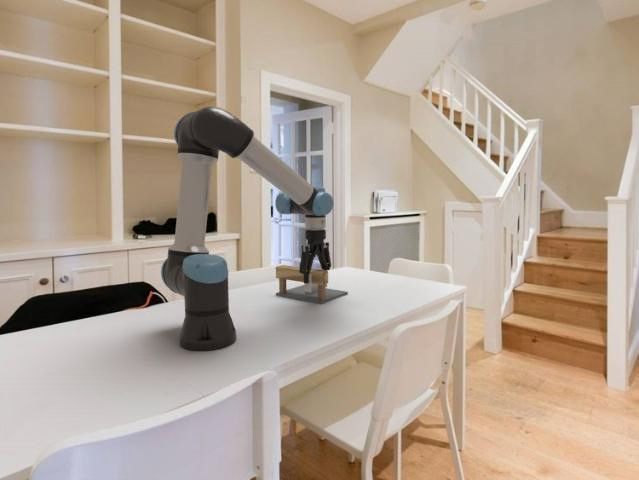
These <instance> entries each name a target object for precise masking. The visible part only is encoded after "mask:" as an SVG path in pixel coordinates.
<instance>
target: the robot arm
mask: <svg viewBox="0 0 639 480" xmlns="http://www.w3.org/2000/svg"><path fill="white" fill-rule="evenodd" d="M173 135H174V136H173V137H174V141H175V143H176V144H177V153H176V154H177V157H178V158H179V159H180V160H181V171H180V179H179V180H180V181H179V182H180V183H179V190H178V191H179V192H178V201H177V212H176V222H175V223H176V224H175V234H174V242H173V243H172V244H171V245H170V246H169V247H168V248H167V250H168V251H167V258H166V259H165V260H164V261H163V263H162V264H161V268H160V275H161V280H162V282H163V284H164V285H165V287H167V288H168V289H169V290H170V291H172V292H173V293H175V294H178V295H180V296H183V298H184V319H183V322H182V326H181V330H180V333H179V346H180V347H181V348H183V349H185V350H189V351H211V350H212V351H213V350H217V349H222V348H225V347H228V346H230V345H232V344H233V343H235V342H236V341H237V331H236V330H237V329H236V328H235V325H234V321H233V319H232V317H231V314H230V305H229V303H230V302H229V301H230V297H229V269H228V262H227V260H226V258H224V257H223V256H220V255H216V254H210V250H209V249H208V247H207V246H206V245H205V244H206V243H205V242H206V234H207V233H206V231H207V223H208V222H207V221H208V214H209V213H208V211H209V204H210V203H209V202H210V195H211V194H210V192H211V181H212V170H213V165H215V164H216V163H217V162H219V155H220V152H222V153H224V154H227V156H229V157H230V158H232V159H239V160H240V161H241V162H242V163H244V164H246V165H247V166H248V167H249V168H250V169H251V170H253V171H255V173H257V174H258V175H260V176H261V177H262V179H263V178H264V179H265V180H266V181H267V182H268V183H270V184H271V185H273V186H274V187H275V189H278V190H279V191H280V192H279V193H278V194H277V196H276V197H275V201H274V202H275V203H274V204H275V209H276V211H277V212H278V213H279V214H281V215H304V228H305V232H304V234H305V237H304V239H305V240H306V241H307V244H306V245H301V257H300V264H299V267H300V270H299V272H300V273H301V274H303V275H304V282H303V285H304V291H305V292H312V290H311V274H310V271H311V269H312V267H313V263H314V260H315V258H316V256H317V258H318V261H319V262H318V263H319V265H320V267H321V270H325V271H329V270H331V267H332V261H331V256H330V255H331V253H330V242H326V241H325V240H326V238H327V230H326V228H327V227H326V226H327V225H326V220H327V219H326V216H327V215H329V214H330V213H331V212H332V211H333V209H334V198H333V196H332V195H331V194H330V193H328V192H326V187H324V186H313V185H312V184H311V183H309V182H308V181H307V180H306V179H305V178H304V177H303V176H302V175H300V173H298V172H296V171H295V170H294V169H292V167H291V166H289V164H288V163H286V162H285V161H283V160H282V159H281V158H280V157H279V156H278V155H277V154H275V153H274V152H273V151H272V150H271V149H270V148H268V147H267V146H266V145H265V144H263V143H262V142H261V141H260V140H259V139H258V138H257V137H256V136H255V131H254V130H253V129H251V128H250V127H249V126H248V125H247V124H246V123H244V121H242V120H240V119H239V118H238V117H236V116H235V115H234V114H232V113H231V112H229V111H227V110H225V109H223V108H221V107H217V106H206V107H202V108H200V109H198V110H196V111H190V112H188V113H186V114H184V115H183V116H182V117H181V118H180V119H178V121H177V123H176V124H175V126H174V131H173ZM325 288H328V283H326V284H325Z"/></svg>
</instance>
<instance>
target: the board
mask: <svg viewBox="0 0 639 480" xmlns="http://www.w3.org/2000/svg"><path fill="white" fill-rule="evenodd" d="M278 284H279V285H278V286H279V287H278V289H279V290H278V292H276V293H275V296H277V297H280V298H281V297H282V298H286V299H293V300H298V301H303V302H307V303H313V304H319V305H322V304H325V303H328V302H330V301H333V300H336V299H339V298H341V297H344V296H347V295H348V294H349V291H345V290H339V289H333V288H328V287H325V284H323V285H318V292H315V293H312V294H305V291H304V284H303V285H299V286H296V287H292V288H289V289H287V280H286V279H279V278H278Z"/></svg>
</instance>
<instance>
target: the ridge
mask: <svg viewBox="0 0 639 480" xmlns="http://www.w3.org/2000/svg"><path fill="white" fill-rule="evenodd" d="M311 290H312V292H305V294H312V293H315V292H318V285H317V284H311Z"/></svg>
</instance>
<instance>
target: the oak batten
mask: <svg viewBox="0 0 639 480" xmlns="http://www.w3.org/2000/svg"><path fill="white" fill-rule="evenodd" d="M299 270H300V266H295V265H287V264H282V265H277V266H275V279H278V280H279V279H286V281H292V282H299V283H300V282H301V283H304V275H303V274H301V273H300V272H299ZM310 274H311V284H317V285H323V284H326V283H327V284H329V270H327V271H325V270H323V269H317V268H311V271H310Z"/></svg>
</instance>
